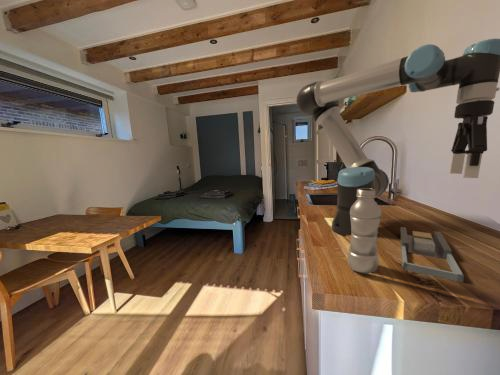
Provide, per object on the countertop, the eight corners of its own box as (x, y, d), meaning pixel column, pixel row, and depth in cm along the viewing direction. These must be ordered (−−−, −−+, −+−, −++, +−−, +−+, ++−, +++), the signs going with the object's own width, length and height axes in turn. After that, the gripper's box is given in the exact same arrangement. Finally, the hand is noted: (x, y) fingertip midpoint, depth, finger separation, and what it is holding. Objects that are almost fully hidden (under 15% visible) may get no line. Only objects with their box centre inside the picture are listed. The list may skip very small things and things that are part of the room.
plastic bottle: (341, 264, 52) (344, 188, 49) (366, 262, 52) (370, 186, 50) (357, 278, 45) (360, 192, 43) (385, 276, 46) (390, 190, 43)
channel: (401, 253, 56) (401, 242, 56) (399, 236, 68) (400, 226, 68) (450, 263, 50) (451, 250, 50) (439, 242, 63) (440, 232, 62)
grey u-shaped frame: (402, 271, 47) (403, 262, 47) (401, 253, 56) (401, 245, 56) (462, 286, 42) (463, 275, 41) (450, 263, 50) (451, 254, 50)
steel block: (414, 250, 56) (414, 242, 56) (412, 245, 59) (413, 237, 59) (434, 254, 53) (435, 245, 53) (431, 248, 57) (432, 239, 56)
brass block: (412, 244, 60) (413, 235, 59) (411, 239, 63) (412, 230, 63) (431, 248, 57) (432, 238, 57) (429, 242, 61) (430, 233, 60)
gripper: (518, 88, 45) (500, 180, 49) (476, 108, 66) (466, 172, 69) (471, 94, 49) (457, 179, 53) (445, 111, 70) (437, 171, 73)
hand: (462, 175), depth 61 cm, fingers open, 13 cm apart
